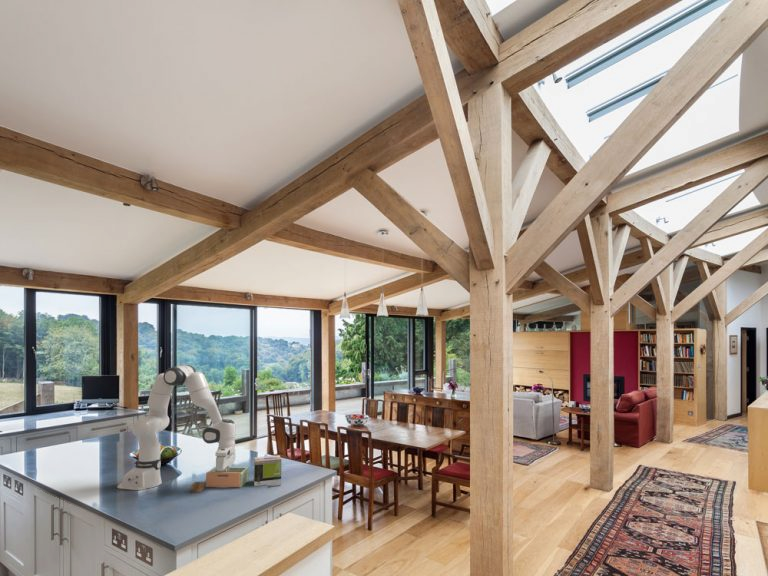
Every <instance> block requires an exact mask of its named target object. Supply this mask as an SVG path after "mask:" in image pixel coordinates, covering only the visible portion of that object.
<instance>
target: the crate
mask: <svg viewBox="0 0 768 576" xmlns="http://www.w3.org/2000/svg"><path fill="white" fill-rule="evenodd" d="M249 468H250V467H248V466H244V467H243V466H230V467H229V470H228V472H240V487H239V488H242V487H243V486H244V485H245V484H246V483H247V482H248V481H249V473H250V472H249V471H250V469H249ZM208 472H223V471H217V470H216V466H214V467H213V468H211V469H210V470H209V471H208ZM205 475H207V472H206V474H205Z"/></svg>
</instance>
